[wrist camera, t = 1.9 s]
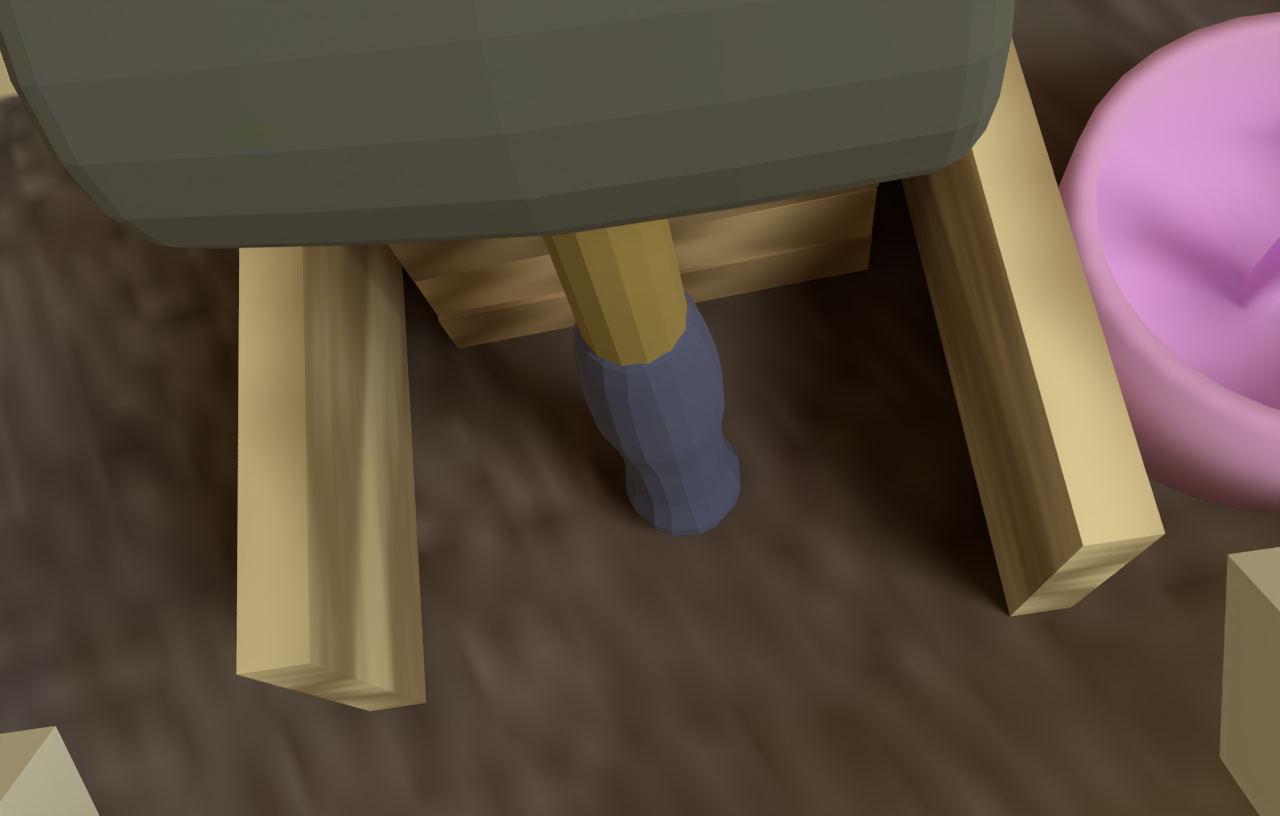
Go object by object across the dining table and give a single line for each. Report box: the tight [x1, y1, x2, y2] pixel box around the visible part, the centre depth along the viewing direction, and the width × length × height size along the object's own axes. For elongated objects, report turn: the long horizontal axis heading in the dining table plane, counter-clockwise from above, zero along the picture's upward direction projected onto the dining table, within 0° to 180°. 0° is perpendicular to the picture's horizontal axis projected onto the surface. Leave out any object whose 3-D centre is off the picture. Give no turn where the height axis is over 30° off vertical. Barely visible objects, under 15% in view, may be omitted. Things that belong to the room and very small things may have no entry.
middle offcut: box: [415, 187, 877, 315], centre depth 40 cm, size 16×5×3 cm, turn 98°
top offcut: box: [388, 183, 879, 282], centre depth 37 cm, size 16×5×3 cm, turn 99°
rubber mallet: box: [0, 0, 1015, 536], centre depth 26 cm, size 12×8×30 cm, turn 93°
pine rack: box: [237, 38, 1165, 711], centre depth 37 cm, size 24×22×10 cm
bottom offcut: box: [438, 234, 872, 348], centre depth 43 cm, size 16×5×3 cm, turn 99°
